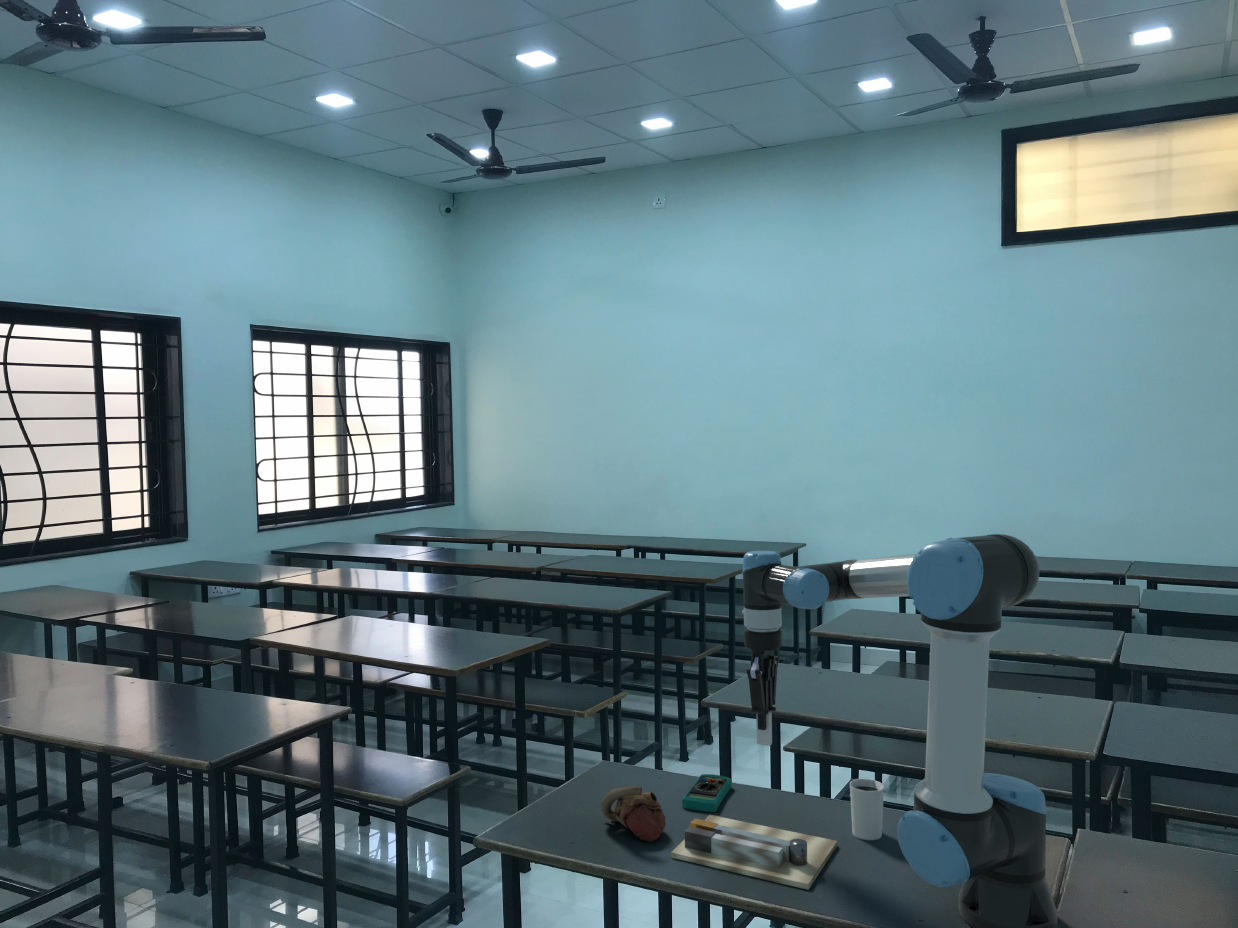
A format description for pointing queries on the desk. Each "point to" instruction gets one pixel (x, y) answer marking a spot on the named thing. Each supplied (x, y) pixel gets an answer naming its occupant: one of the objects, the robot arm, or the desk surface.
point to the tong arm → (760, 840)
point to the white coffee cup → (867, 808)
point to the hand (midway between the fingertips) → (764, 743)
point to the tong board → (761, 871)
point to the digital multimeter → (707, 793)
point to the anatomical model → (635, 811)
